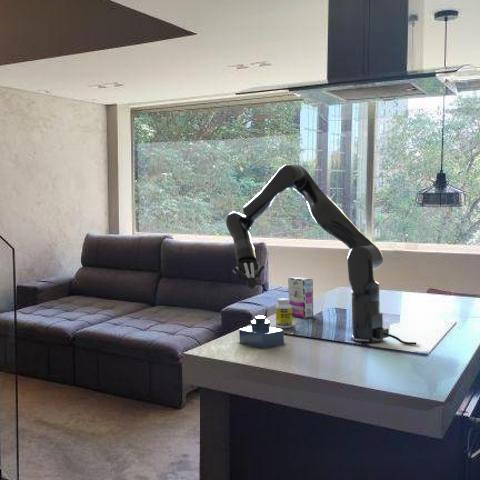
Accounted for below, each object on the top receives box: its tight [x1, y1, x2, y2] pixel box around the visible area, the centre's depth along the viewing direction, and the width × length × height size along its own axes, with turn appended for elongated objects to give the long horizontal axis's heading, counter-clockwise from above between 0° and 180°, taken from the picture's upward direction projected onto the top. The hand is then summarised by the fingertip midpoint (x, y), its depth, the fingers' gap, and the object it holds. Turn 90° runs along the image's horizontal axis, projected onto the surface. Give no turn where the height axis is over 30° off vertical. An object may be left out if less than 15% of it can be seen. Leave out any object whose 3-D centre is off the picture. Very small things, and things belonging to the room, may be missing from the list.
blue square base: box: [238, 319, 285, 350], centre depth 209 cm, size 12×11×7 cm
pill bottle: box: [275, 297, 293, 329], centre depth 234 cm, size 6×6×11 cm
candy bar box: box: [287, 276, 314, 319], centre depth 253 cm, size 11×5×16 cm, turn 24°
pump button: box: [254, 315, 266, 323], centre depth 213 cm, size 4×4×2 cm
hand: (252, 287), depth 224 cm, fingers closed
